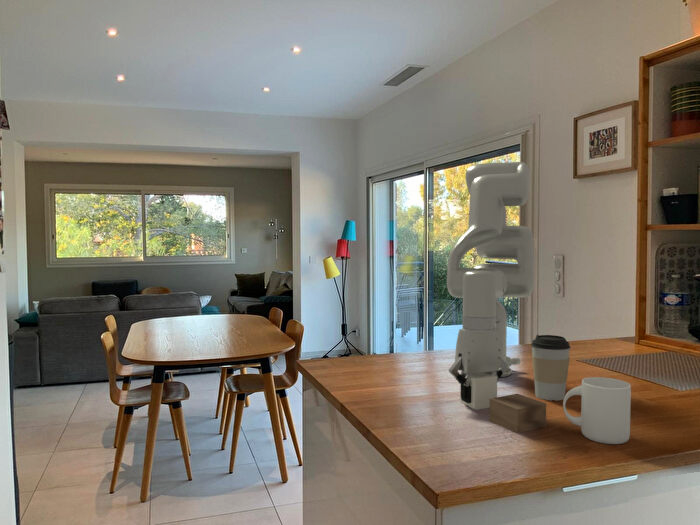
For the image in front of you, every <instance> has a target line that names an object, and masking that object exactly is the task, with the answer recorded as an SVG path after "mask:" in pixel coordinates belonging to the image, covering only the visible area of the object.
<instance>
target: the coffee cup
mask: <svg viewBox="0 0 700 525" xmlns="http://www.w3.org/2000/svg"><path fill="white" fill-rule="evenodd" d="M566 339H567V338H565V337H564V336H561V335H552V334H540V335H539V334H536V336H535V338H534V339H533V340H532V341H531V342H532V343H531V344H530V345H531V348H532V350H531V351H532V354H531V357H532V358H531V359H532V361H531V362H532V371H533V373H532V374H533V379H534V393H535V397H537V398H538V399H541V400H544V399H545V400H546V401H552V400H555V401H562V400H564V397H565V395H566V389H567V382H568V375H569V374H568V373H569V364H570V349H571V344H570V343H569V341H567V340H566Z"/></svg>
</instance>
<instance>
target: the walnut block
mask: <svg viewBox="0 0 700 525" xmlns="http://www.w3.org/2000/svg"><path fill="white" fill-rule="evenodd" d="M488 409H489V416H488V417H489V418H488V420H489V422H490V423H493V424H496V425H497V426H500V427H502V428H504V429H506V430H509V431H511V432H514V433H515V434H519V433H523V432H529V431H533V430H536V429H541V428H545V427H547V403H546V402H542V401H540V400H538V399H534V398H531V397H528V396H526V395H522V394H519V393H514V394H508V395H502V396H497V397H496V398H491V399H490V408H488Z"/></svg>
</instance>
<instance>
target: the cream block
mask: <svg viewBox="0 0 700 525" xmlns="http://www.w3.org/2000/svg"><path fill="white" fill-rule="evenodd" d="M469 386H471V403H466V402H464V401H462V399H461V384H460V386H459V388H460V391H459V392H460V395H459V396H460V399H459V400H460V402H459V403H461V404H463V405H465V406H467V407H470V408H471V409H472V410H482V409H489V408H490V399H491V398H496V397H498V383H497V376H494V375H491V374H489V373H477V374H473V375H472V377H471V380H470V383H469Z"/></svg>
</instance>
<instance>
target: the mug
mask: <svg viewBox="0 0 700 525" xmlns="http://www.w3.org/2000/svg"><path fill="white" fill-rule="evenodd" d="M631 393H632V386H631V384H630V383H629V382H627V381H624V380H622V379H617V378H611V377H605V376H604V377H603V376H593V377H592V376H591V377H590V376H588V377H584V378H582V379H581V385H579V386H576V387H573V388H571V389H569V390H568V391H567V392H565V397H564V399H563V402H562V407H563V412H564V415H565V418H567V420H568V421H569V422H570V423H571V424H573V425H575V426H577V427H581V428H580V430H581V434H582V436H584V438H587V439H588V440H591V441H593V442H596V443H600V444H607V445H621V444H625V443H627V442H628V441H629V440H630V436H631V400H632V399H631V397H632V394H631ZM572 396H573V397H574V396H581V397H580V398H581V405H580V408H581V409H580V410H581V411H580V413H581V414H580V416H573V415H571V414H570V413H569V412H568V411H567V409H566V404H567V402H568V401H567V400H568V399H569V398H570V397H572Z"/></svg>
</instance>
